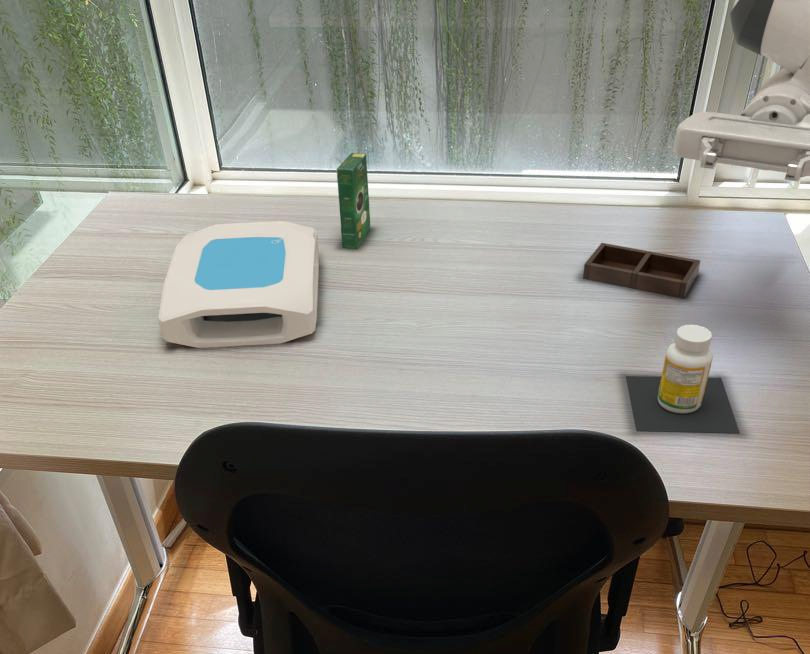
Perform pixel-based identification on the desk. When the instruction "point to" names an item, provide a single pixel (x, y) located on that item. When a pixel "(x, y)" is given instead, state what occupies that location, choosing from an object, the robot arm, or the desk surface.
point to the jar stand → (641, 270)
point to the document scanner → (241, 284)
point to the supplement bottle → (686, 370)
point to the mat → (655, 418)
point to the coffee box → (353, 200)
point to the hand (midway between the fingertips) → (749, 167)
